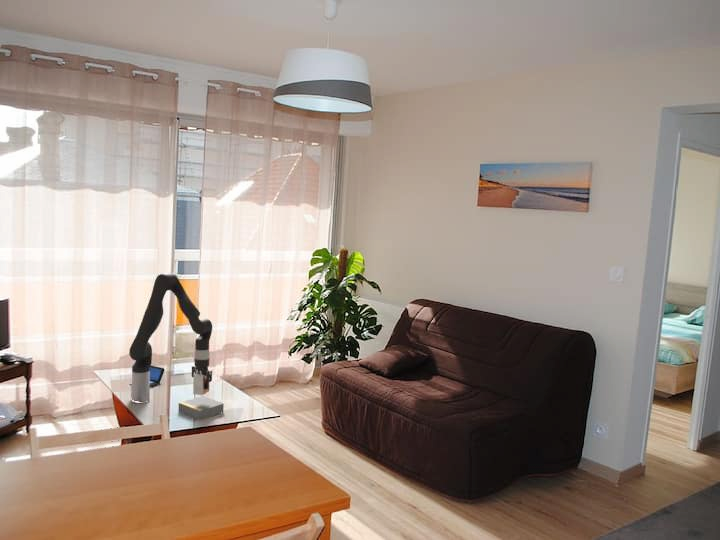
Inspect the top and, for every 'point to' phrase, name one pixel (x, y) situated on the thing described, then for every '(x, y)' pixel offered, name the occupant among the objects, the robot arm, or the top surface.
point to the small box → (199, 384)
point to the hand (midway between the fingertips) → (201, 387)
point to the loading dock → (200, 407)
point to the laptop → (155, 375)
